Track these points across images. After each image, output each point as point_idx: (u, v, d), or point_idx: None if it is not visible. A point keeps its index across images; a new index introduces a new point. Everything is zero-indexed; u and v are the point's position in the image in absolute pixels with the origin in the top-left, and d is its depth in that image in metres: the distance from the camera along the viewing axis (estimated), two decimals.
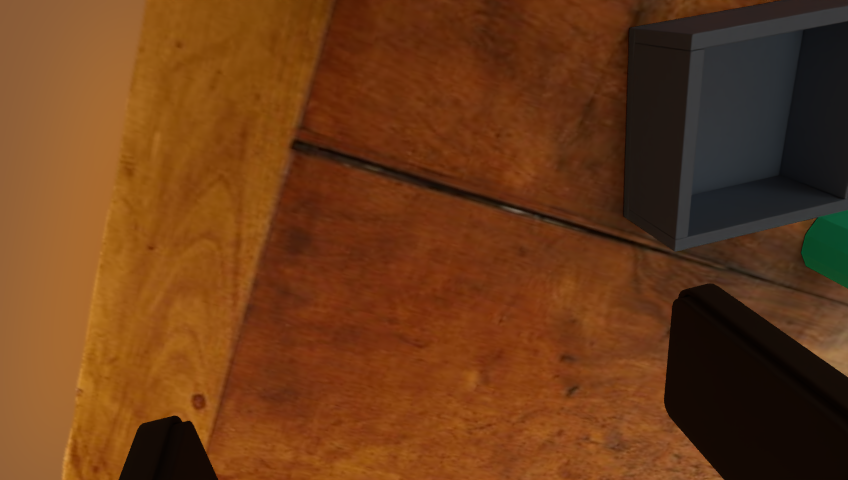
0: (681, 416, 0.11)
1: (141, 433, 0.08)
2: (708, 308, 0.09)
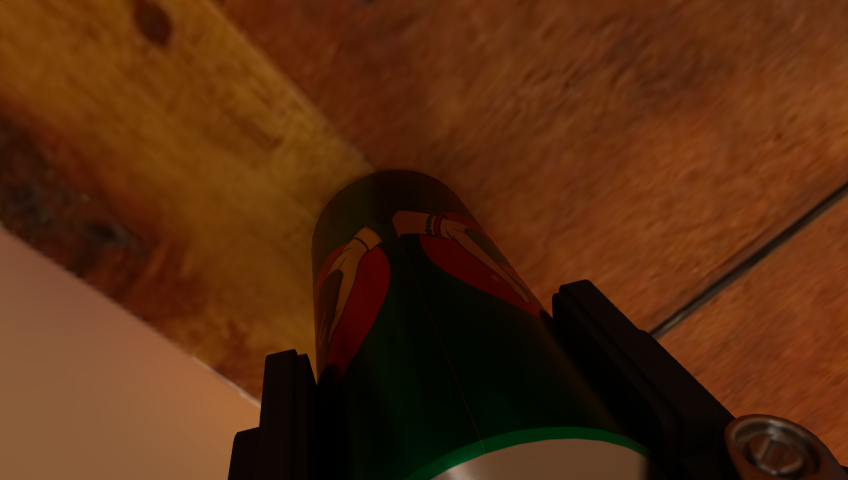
0: None
1: (270, 361, 0.10)
2: (576, 302, 0.10)
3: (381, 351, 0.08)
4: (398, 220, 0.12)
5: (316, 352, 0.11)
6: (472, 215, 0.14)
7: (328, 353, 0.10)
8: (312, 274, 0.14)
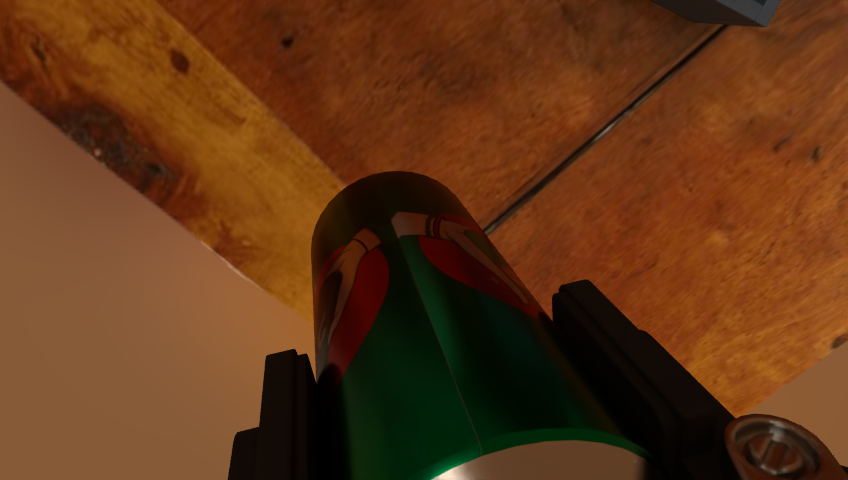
0: None
1: (270, 361, 0.10)
2: (576, 302, 0.10)
3: (380, 353, 0.08)
4: (397, 222, 0.12)
5: (315, 353, 0.11)
6: (471, 216, 0.15)
7: (327, 354, 0.10)
8: None
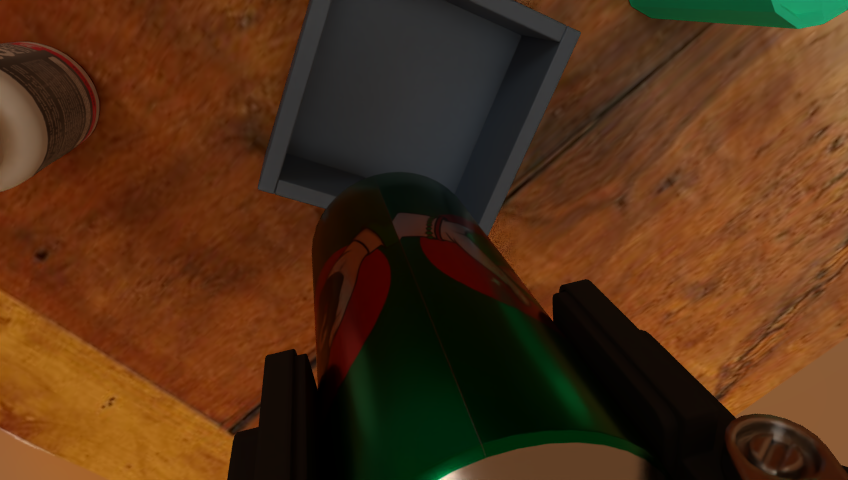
0: None
1: (269, 361, 0.10)
2: (577, 302, 0.10)
3: (382, 354, 0.08)
4: (398, 223, 0.12)
5: (317, 354, 0.11)
6: (472, 217, 0.15)
7: (329, 356, 0.10)
8: None
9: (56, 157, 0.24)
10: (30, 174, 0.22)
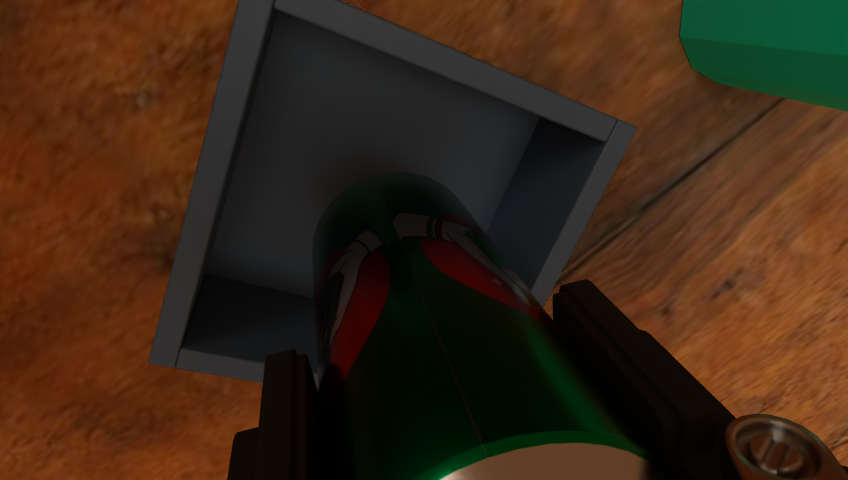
0: None
1: (270, 361, 0.10)
2: (577, 302, 0.10)
3: (382, 354, 0.08)
4: (398, 223, 0.12)
5: (317, 354, 0.11)
6: None
7: (329, 356, 0.10)
8: (313, 276, 0.14)
9: None
10: None
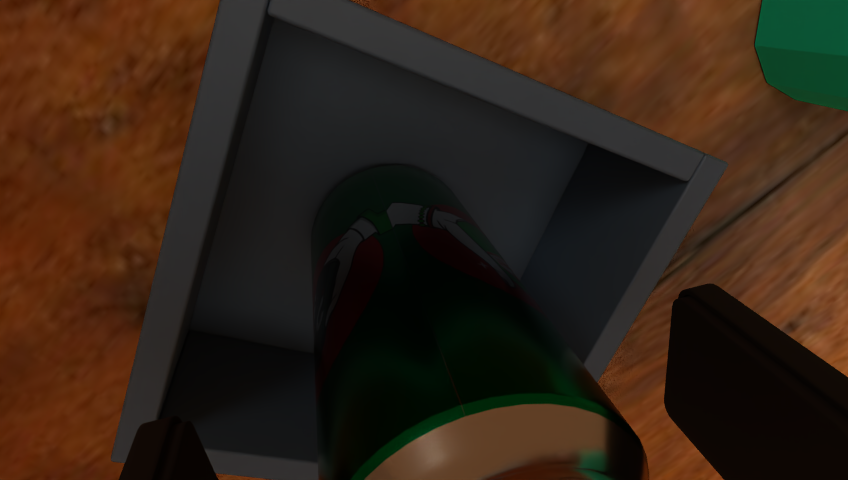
0: (681, 416, 0.11)
1: (141, 433, 0.08)
2: (708, 308, 0.09)
3: (374, 330, 0.09)
4: (392, 211, 0.13)
5: (314, 336, 0.12)
6: None
7: (325, 335, 0.10)
8: (311, 265, 0.15)
9: None
10: None
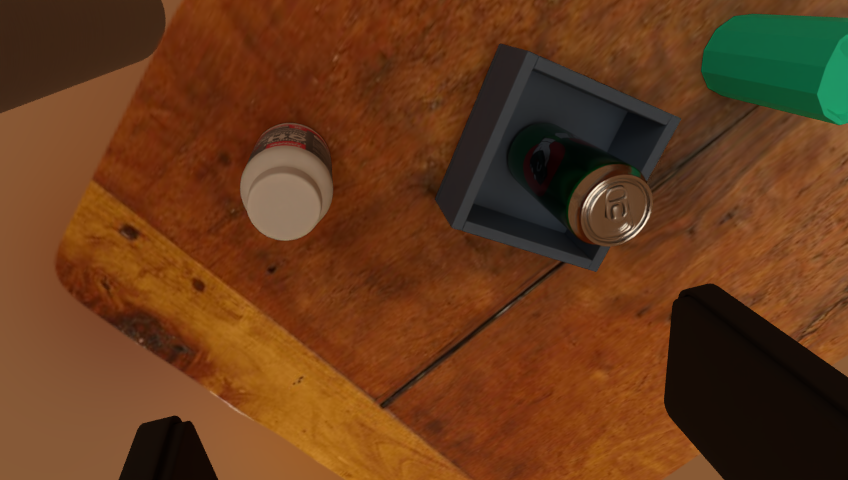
0: (681, 416, 0.11)
1: (141, 433, 0.08)
2: (708, 308, 0.09)
3: (570, 159, 0.31)
4: (557, 135, 0.35)
5: (534, 175, 0.34)
6: None
7: (546, 168, 0.33)
8: (515, 161, 0.38)
9: None
10: None
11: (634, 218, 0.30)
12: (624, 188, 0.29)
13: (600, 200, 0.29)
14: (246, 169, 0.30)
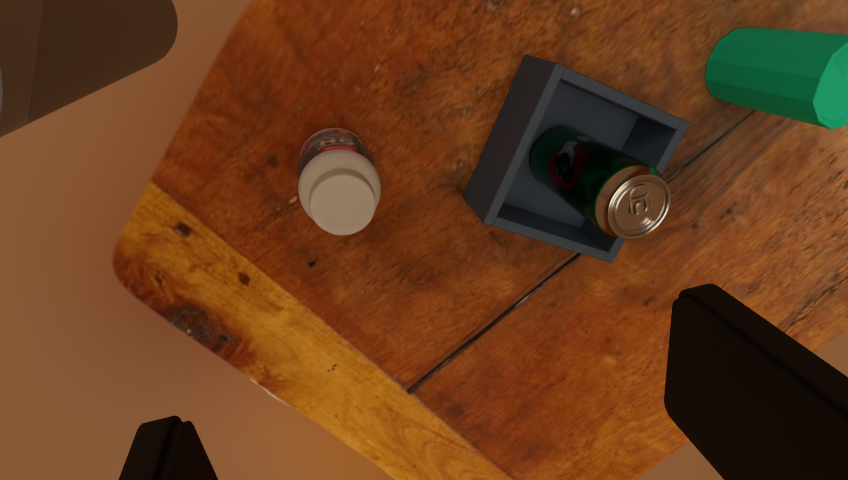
0: (681, 416, 0.11)
1: (141, 433, 0.08)
2: (708, 308, 0.09)
3: (595, 160, 0.35)
4: (580, 138, 0.39)
5: (560, 175, 0.38)
6: None
7: (572, 168, 0.36)
8: (539, 162, 0.41)
9: None
10: None
11: (654, 213, 0.33)
12: (646, 186, 0.32)
13: (625, 197, 0.32)
14: (305, 171, 0.33)
